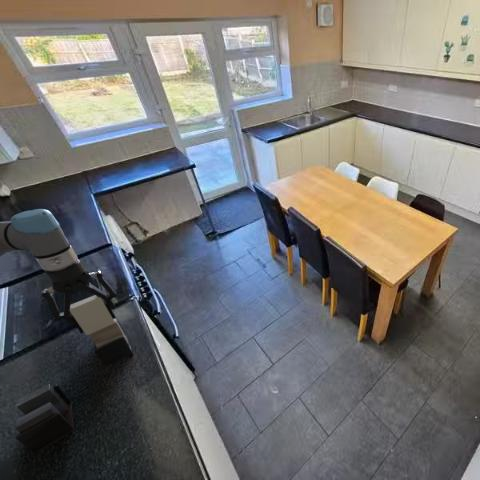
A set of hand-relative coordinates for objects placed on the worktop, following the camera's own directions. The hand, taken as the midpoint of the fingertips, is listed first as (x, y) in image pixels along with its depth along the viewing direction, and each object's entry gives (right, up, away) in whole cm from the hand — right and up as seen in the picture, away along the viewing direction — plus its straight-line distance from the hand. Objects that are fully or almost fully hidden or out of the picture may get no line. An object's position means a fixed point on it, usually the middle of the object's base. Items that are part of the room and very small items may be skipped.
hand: (98, 323), depth 86 cm
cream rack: (-1, -13, +10) cm, 16 cm away
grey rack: (-2, -25, -11) cm, 28 cm away
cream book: (0, -1, +1) cm, 2 cm away
